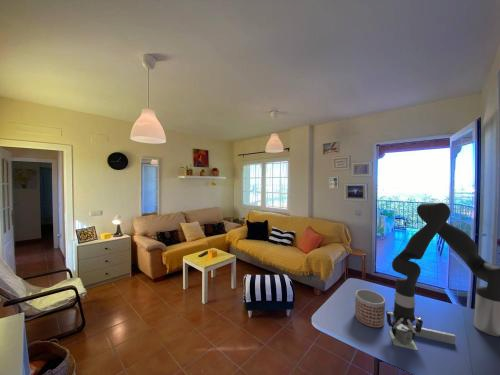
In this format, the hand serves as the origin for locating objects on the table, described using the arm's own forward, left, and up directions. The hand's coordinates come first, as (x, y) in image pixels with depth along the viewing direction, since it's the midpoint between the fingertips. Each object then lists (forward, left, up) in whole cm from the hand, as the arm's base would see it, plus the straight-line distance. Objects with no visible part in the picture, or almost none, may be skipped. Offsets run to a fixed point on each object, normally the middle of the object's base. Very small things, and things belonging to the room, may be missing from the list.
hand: (402, 336), depth 97 cm
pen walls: (-13, -11, -2) cm, 17 cm away
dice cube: (0, +1, -1) cm, 1 cm away
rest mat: (0, 0, -2) cm, 2 cm away
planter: (+12, -11, -2) cm, 16 cm away
